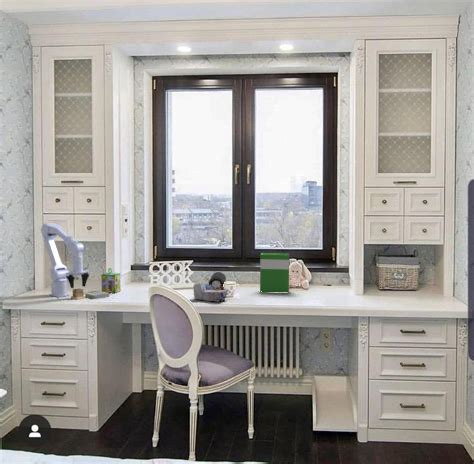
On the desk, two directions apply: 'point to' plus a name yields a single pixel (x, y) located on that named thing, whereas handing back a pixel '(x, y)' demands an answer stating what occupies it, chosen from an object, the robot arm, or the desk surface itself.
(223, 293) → the cell model
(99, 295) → the dock
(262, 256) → the hardback book
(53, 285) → the robot arm
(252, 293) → the desk surface
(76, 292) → the tan cardboard carton
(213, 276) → the portable speaker
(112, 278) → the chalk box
